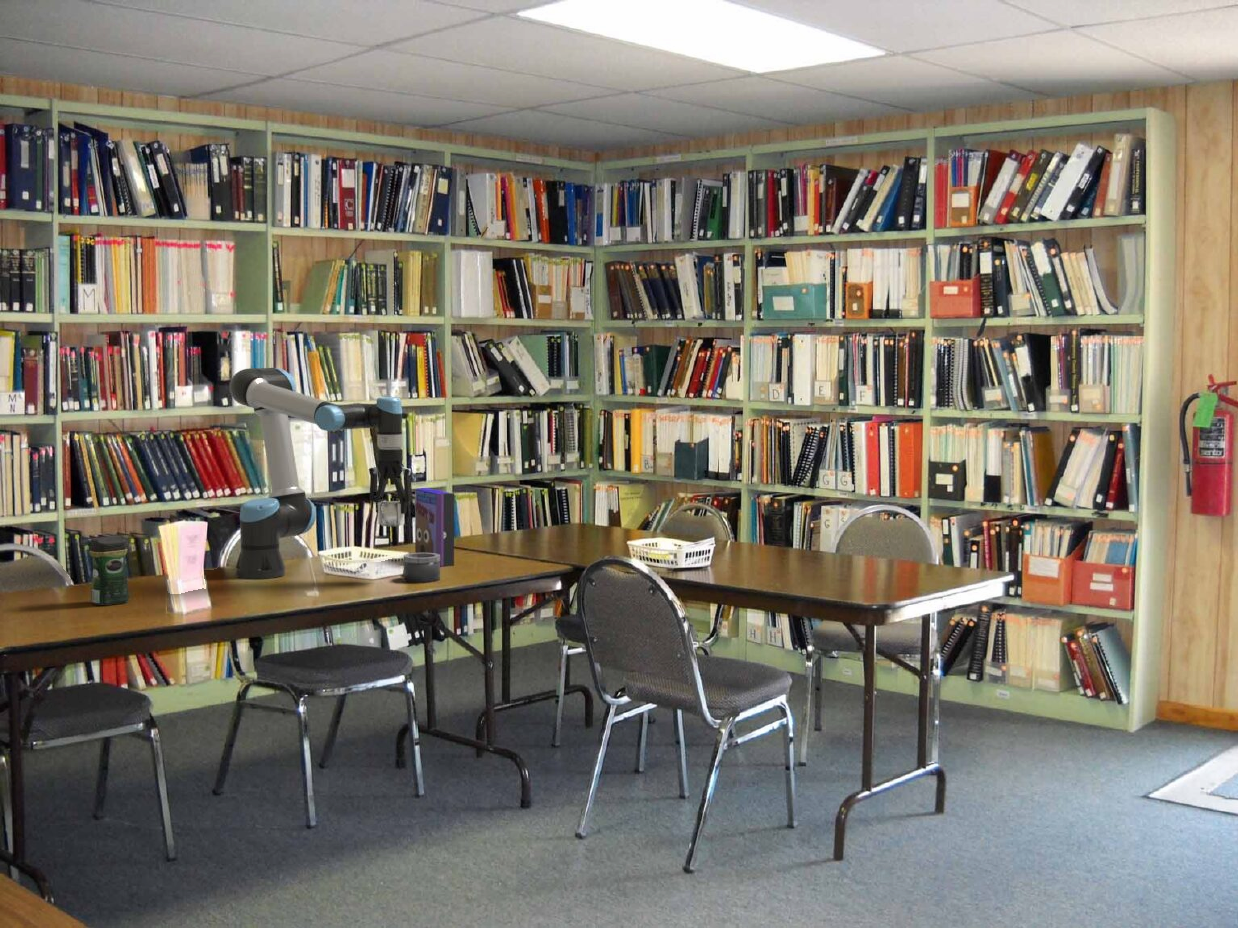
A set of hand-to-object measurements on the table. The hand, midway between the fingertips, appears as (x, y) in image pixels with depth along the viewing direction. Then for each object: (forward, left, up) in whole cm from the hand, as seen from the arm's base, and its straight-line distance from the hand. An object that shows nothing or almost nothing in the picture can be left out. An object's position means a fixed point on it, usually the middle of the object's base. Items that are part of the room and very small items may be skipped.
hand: (391, 523), depth 407 cm
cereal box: (-2, +35, -18) cm, 40 cm away
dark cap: (+2, +12, -18) cm, 21 cm away
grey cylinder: (0, 0, 0) cm, 0 cm away
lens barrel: (+8, +5, -18) cm, 20 cm away
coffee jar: (-56, -59, -18) cm, 83 cm away
